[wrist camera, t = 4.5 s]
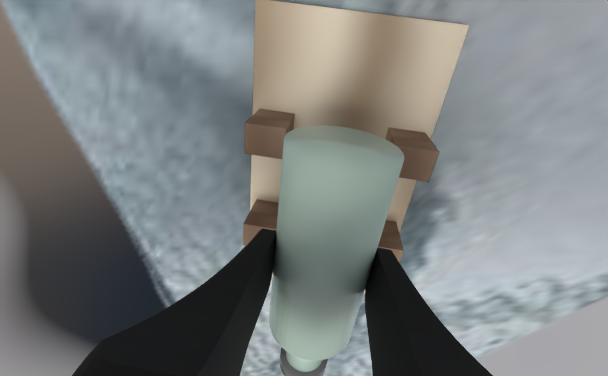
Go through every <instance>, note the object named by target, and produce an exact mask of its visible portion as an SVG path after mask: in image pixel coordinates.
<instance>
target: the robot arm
mask: <svg viewBox="0 0 608 376" xmlns="http://www.w3.org/2000/svg"><path fill="white" fill-rule="evenodd" d="M275 242H276V230H270V229H264V228H262V229H261V230H260V231H259V232H258V233H257V234H256V235H255V236H254V238H253V239H252V240H251V241H250V242H249V243H248V244H247V245H246V246H245V247H244V248H243V249H242V250H241V251H240V252H239V253H238V254H237V255H236V256H235V257H234V258H233V259H232V260H231V261H230V262H229V263H228V264H227V265H226V266H224V267H223V268H222V269H221V270H220V271H219V272H218V273H216V274H215V275H214V276H213V277H211V278H210V279H209V280H208V281H206V282H205V283H204V284H202V285H201V286H200V287H198V288H197V289H195V290H194V291H193V292H191V293H190V294H188V295H187V296H185V297H184V298H182V299H181V300H179V301H177V302H176V303H174V304H173V305H171V306H169V307H168V308H166V309H164V310H162V311H160V312H159V313H157V314H155V315H153V316H152V317H150V318H148V319H146V320H144V321H142V322H140V323H138V324H136V325H134V326H132V327H130V328H128V329H126V330H123V331H121V332H119V333H117V334H115V335H113V336H110V337H108V338H106V339H103V340H102V341H101V342H100V343H99V344H98V345H97V346H96V347H95V348H94V349H93V350H92V352H90V354H89V355H88V356H87V357H86V358H85V360H84V361H83V362H82V364H81V365H80V366H79V367H78V368H77V370H76V371H75V372H74V374H73V375H72V376H240V372H241V368H242V365H243V361H244V357H245V354H246V350H247V347H248V344H249V341H250V338H251V336H252V333H253V330H254V328H255V325H256V322H257V320H258V317H259V314H260V312H261V309H262V306H263V304H264V301H265V298H266V295H267V293H268V290H269V286H270V282H271V278H272V274H273V267H274V254H275ZM365 310H366V319H367V327H368V335H369V344H370V352H371V360H372V371H373V376H493V375H491V374H490V373H489V372H488V371H487V370H486V369H485V368H484V367H483V366H482V365H481V364H480V363H479V362H478V361H477V360H476V359H475V358H474V357H473V356H472V355H471V354H470V353H469V352H468V351H467V350H466V349H465V348H464V347H463V346H462V345H461V344H460V343H459V342H458V341H457V340H456V339H455V338H454V336H453V335H452V334H451V333H450V332H449V331H448V330H447V328H446V327H445V326H444V325H443V324H442V323H441V321H440V320H439V319H438V318H437V317H436V315H435V314H434V313H433V312H432V310H431V309H430V308H429V306H428V305H427V304H426V302H425V301H424V299H423V298H422V297H421V295H420V294H419V292H418V291H417V289H416V288H415V286H414V285H413V284H412V282H411V281H410V279H409V277H408V276H407V274H406V273H405V271H404V269H403V268H402V266H401V265H400V263H399V261H398V260H397V258H396V256H395V255H394V253H393V252H392V250H389V249H383V248H377V251H376V254H375V258H374V261H373V264H372V268H371V271H370V274H369V277H368V281H367V284H366V287H365Z"/></svg>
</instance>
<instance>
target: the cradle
mask: <svg viewBox="0 0 608 376" xmlns="http://www.w3.org/2000/svg"><path fill="white" fill-rule="evenodd" d="M468 28H469V25H463V24H455V23H447V22H439V21H431V20H423V19H415V18H407V17H400V16H392V15H384V14H376V13H368V12H360V11H352V10H344V9H336V8H328V7H320V6H312V5H304V4H296V3H288V2H280V1H272V0H256V9H255V46H254V83H253V116H252V117H251V118H250V119H249V120H247V121H246V122H245V154H250V155H252V158H251V196H250V212H249V214H248V216H247V218H246V220H245V222H244V233H243V245H245V246H246V245H247V244H248V243H249V242H250V241H251V240H252V239H253V238H254V236H255V235H256V234H257V233H258V232H259V231H260V230H261V229H262V228H264V229H270V230H276V229H277V217H278V205H279V193H280V181H281V169H282V156H283V144H284V137H285V135H286V134H287V133H288V132H290V131H292V130H294V129H297V128H300V127H306V126H317V125H326V126H339V127H346V128H352V129H357V130H361V131H365V132H368V133H371V134H374V135H377V136H379V137H382V138H384V139H386V140H388V141H390V142H391V143H393V144H395V145H396V146H397V147H398V148H399V149H400V150H401V151H402V152H403V154H404V162H403V165H402V168H401V172H400V175H399V178H398V182H397V185H396V188H395V192H394V195H393V198H392V201H391V205H390V208H389V211H388V215H387V218H386V221H385V225H384V228H383V231H382V234H381V238H380V241H379V244H378V248H383V249H389V250H392V252H393V253H394V255H395V256H396V258H397V260H398V261H399V262H400V259H401V257H402V254H403V251H404V250H403V246H402V242H401V238H400V234H399V232H400V229H401V226H402V223H403V220H404V217H405V214H406V211H407V208H408V205H409V202H410V200H411V197H412V194H413V191H414V188H415V185H416V182H417V180H419V181H425V182H429V179H430V176H431V173H432V171H433V168H434V165H435V162H436V160H437V157H438V154H439V151H438V149H437V148H436V146H435V145H434V144H433V142H432V141H431V137H432V134H433V131H434V129H435V126H436V123H437V120H438V117H439V114H440V111H441V108H442V105H443V102H444V99H445V96H446V93H447V90H448V87H449V84H450V81H451V78H452V75H453V72H454V69H455V66H456V63H457V60H458V58H459V55H460V52H461V49H462V46H463V43H464V40H465V37H466V34H467V31H468ZM272 277H273V274H272ZM364 293H365V291H364Z"/></svg>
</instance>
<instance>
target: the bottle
mask: <svg viewBox="0 0 608 376" xmlns="http://www.w3.org/2000/svg"><path fill="white" fill-rule="evenodd" d="M403 162H404V154H403V152H402V151H401V150H400V149H399V148H398V147H397V146H396V145H395V144H393V143H391V142H390V141H388V140H386V139H384V138H382V137H379V136H377V135H374V134H371V133H368V132H365V131H361V130H357V129H352V128H346V127H339V126H326V125H317V126H306V127H300V128H297V129H294V130H292V131H290V132H288V133H287V134H286V135H285V137H284V144H283V156H282V169H281V181H280V193H279V205H278V217H277V229H276V242H275V254H274V267H273V278H272V290H271V302H270V315H269V324H270V329H271V332H272V334H273V337H274V338H275V340H276V341H277V343H278V344H279V345H280V346H281V354H280V367H281V370H282V372H283V374H284V376H323V374H324V372H325V368H326V364H327V360H328V358H331V357H333V356H335V355H337V354H338V353H339V352H341V351H342V350H343V349H344V348H345V346H346V345H347V343H348V342H349V339H350V337H351V334H352V330H353V327H354V324H355V320H356V317H357V314H358V310H359V307H360V304H361V301H362V297H363V294H364V291H365V287H366V284H367V281H368V277H369V274H370V271H371V268H372V264H373V261H374V258H375V254H376V251H377V248H378V244H379V241H380V238H381V234H382V231H383V228H384V225H385V221H386V218H387V215H388V211H389V208H390V205H391V201H392V198H393V195H394V192H395V188H396V185H397V182H398V178H399V175H400V172H401V168H402V165H403Z"/></svg>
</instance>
